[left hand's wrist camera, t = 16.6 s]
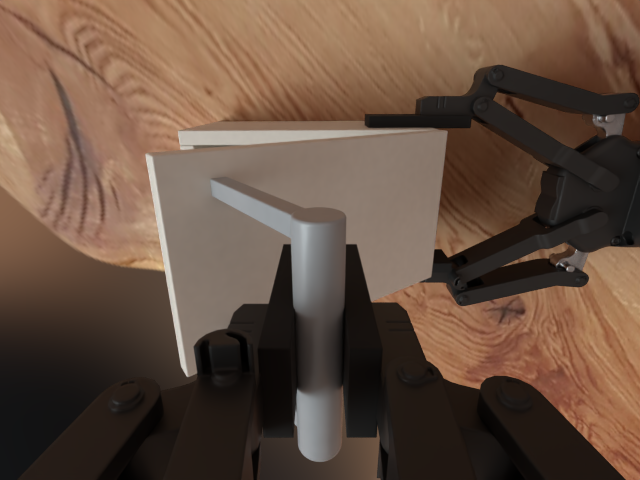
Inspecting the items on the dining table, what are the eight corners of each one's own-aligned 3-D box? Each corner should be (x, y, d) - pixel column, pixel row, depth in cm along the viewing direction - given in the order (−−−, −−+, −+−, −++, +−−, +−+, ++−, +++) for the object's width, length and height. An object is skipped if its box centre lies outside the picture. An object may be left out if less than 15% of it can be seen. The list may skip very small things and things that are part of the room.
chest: (228, 228, 35) (196, 271, 26) (217, 121, 32) (177, 130, 23) (398, 227, 35) (424, 271, 26) (406, 120, 31) (439, 129, 23)
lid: (181, 366, 17) (268, 524, 11) (144, 152, 14) (242, 199, 7) (421, 272, 26) (545, 328, 20) (435, 129, 23) (592, 141, 16)
